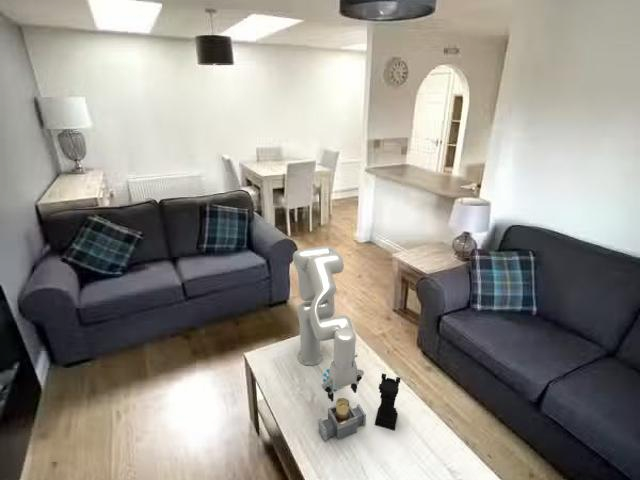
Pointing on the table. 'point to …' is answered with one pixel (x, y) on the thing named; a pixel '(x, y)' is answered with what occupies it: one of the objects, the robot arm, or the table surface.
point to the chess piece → (387, 403)
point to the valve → (341, 423)
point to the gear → (327, 377)
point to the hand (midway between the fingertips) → (342, 394)
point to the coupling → (342, 409)
